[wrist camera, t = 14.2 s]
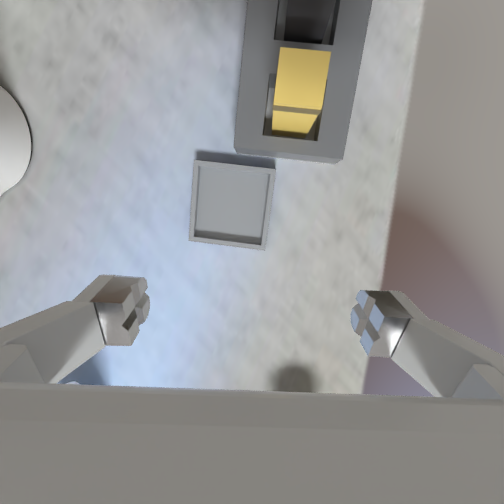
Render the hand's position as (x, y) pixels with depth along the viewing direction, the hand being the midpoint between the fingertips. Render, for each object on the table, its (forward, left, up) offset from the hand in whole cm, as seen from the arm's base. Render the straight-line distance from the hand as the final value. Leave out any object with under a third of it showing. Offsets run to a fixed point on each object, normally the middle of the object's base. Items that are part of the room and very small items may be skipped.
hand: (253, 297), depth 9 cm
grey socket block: (+3, +18, -22) cm, 29 cm away
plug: (+1, +14, -22) cm, 26 cm away
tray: (-4, +3, -22) cm, 23 cm away
